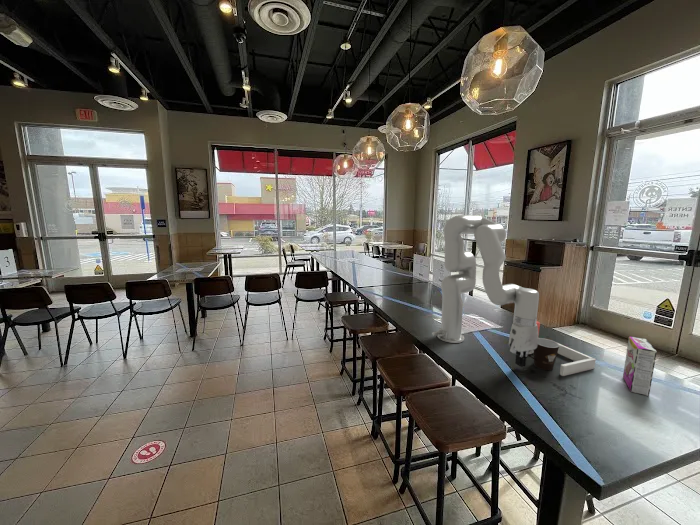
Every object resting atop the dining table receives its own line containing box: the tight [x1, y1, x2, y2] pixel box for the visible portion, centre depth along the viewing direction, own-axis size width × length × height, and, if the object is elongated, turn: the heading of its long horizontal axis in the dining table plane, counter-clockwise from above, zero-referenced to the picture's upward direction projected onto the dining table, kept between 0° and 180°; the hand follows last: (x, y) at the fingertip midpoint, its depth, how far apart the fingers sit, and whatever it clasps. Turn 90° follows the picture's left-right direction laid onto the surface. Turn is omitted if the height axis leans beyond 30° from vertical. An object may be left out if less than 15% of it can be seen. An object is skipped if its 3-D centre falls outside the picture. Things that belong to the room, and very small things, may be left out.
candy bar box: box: [622, 336, 657, 397], centre depth 102 cm, size 11×5×16 cm, turn 148°
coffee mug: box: [527, 337, 560, 371], centre depth 117 cm, size 12×9×10 cm
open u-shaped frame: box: [528, 342, 597, 377], centre depth 121 cm, size 17×18×4 cm
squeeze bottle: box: [536, 320, 541, 338], centre depth 138 cm, size 5×5×12 cm
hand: (520, 364), depth 114 cm, fingers closed
